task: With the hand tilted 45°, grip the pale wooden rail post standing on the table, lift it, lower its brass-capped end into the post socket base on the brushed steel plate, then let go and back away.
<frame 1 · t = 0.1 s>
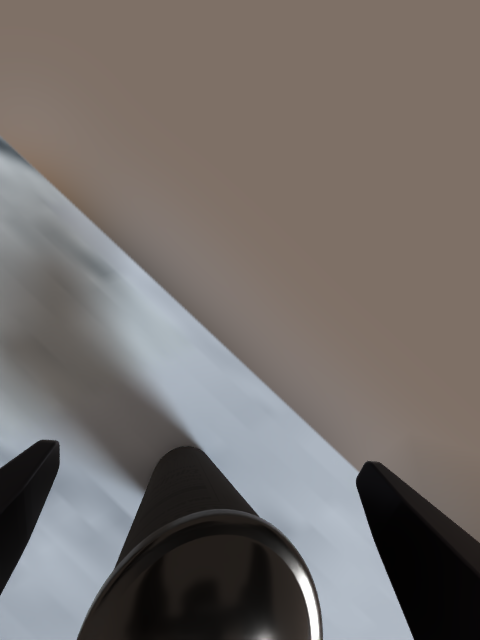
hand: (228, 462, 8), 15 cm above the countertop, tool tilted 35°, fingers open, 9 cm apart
drinking cup: (183, 478, 21), on the countertop
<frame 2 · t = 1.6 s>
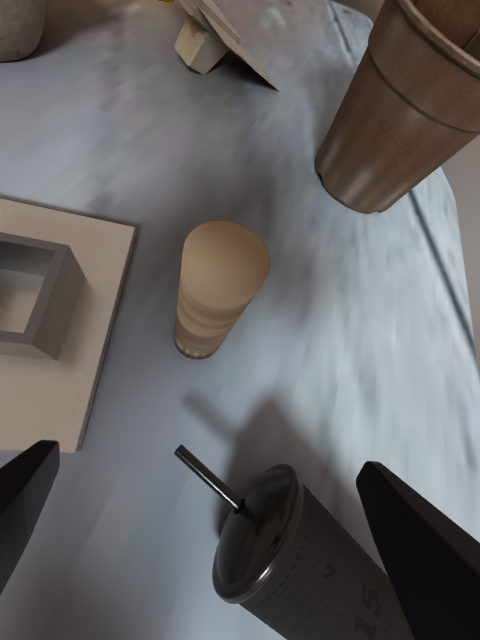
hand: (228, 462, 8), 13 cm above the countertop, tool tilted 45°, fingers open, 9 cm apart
post socket base: (27, 314, 20), on the countertop
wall: (213, 67, 38), on the countertop
plant pot: (353, 181, 37), on the countertop
rail post: (197, 336, 23), on the countertop
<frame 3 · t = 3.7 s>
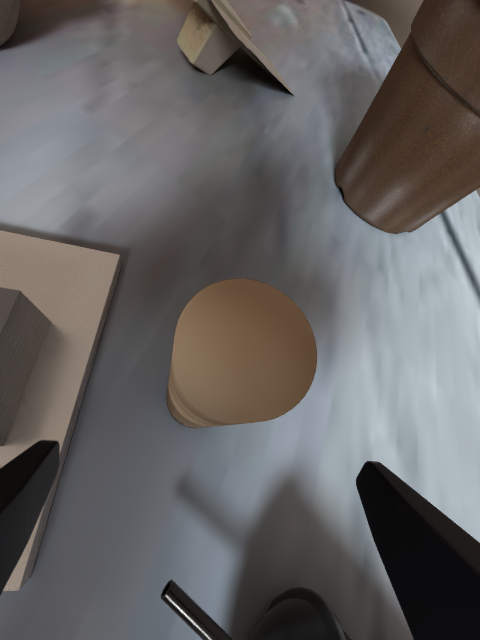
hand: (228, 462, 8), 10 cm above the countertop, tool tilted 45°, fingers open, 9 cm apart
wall: (221, 67, 34), on the countertop
plant pot: (377, 196, 32), on the countertop
rail post: (197, 395, 18), on the countertop
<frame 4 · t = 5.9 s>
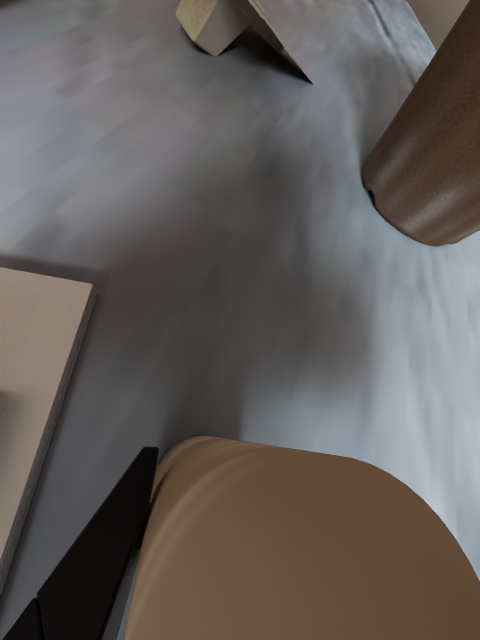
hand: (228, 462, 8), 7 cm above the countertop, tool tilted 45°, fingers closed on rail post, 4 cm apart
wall: (228, 49, 29), on the countertop
plant pot: (411, 200, 27), on the countertop
rail post: (196, 479, 13), on the countertop, touching gripper
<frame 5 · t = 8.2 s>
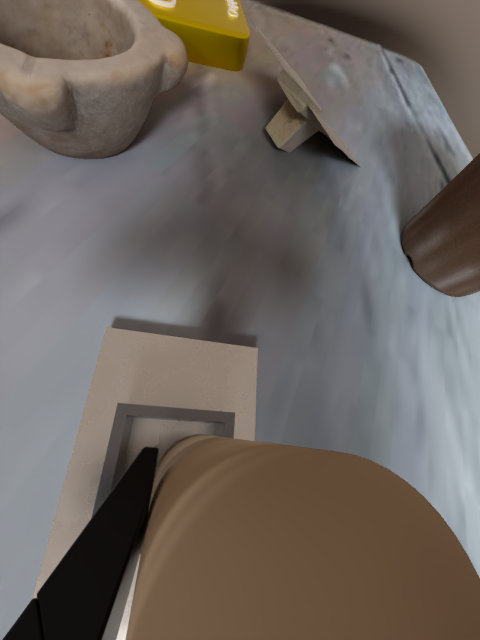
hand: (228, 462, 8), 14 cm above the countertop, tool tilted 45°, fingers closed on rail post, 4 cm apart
element tile: (188, 37, 40), on the countertop
post socket base: (168, 463, 19), on the countertop
mortar: (83, 127, 28), on the countertop
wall: (296, 142, 37), on the countertop
plant pot: (437, 259, 36), on the countertop
rail post: (196, 478, 13), point 7 cm above the countertop, touching gripper
when the fingers open (9 cm above the countertop, at t = 10.7 s): rail post stays where it is, resting on post socket base.
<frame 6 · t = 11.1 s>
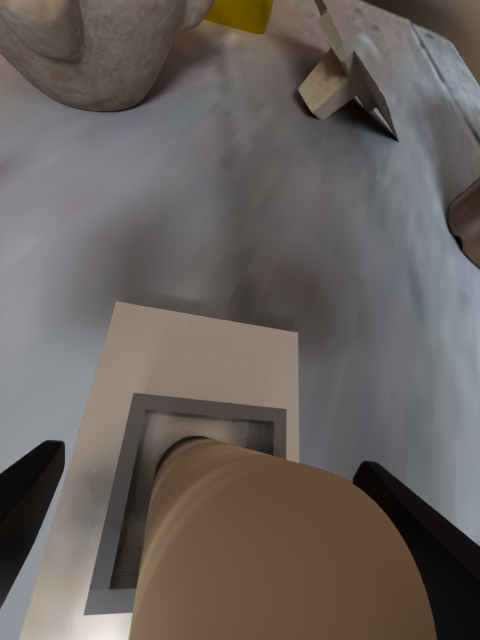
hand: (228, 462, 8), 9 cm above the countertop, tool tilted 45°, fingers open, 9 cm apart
post socket base: (191, 472, 15), on the countertop
mortar: (90, 78, 25), on the countertop
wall: (328, 111, 33), on the countertop
rail post: (193, 477, 14), point 1 cm above the countertop, touching post socket base
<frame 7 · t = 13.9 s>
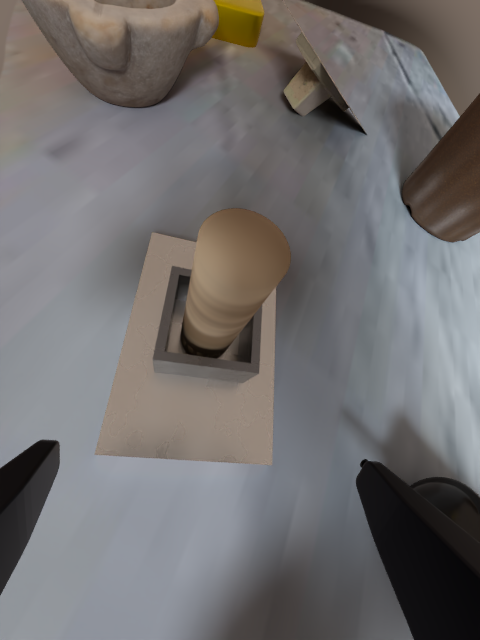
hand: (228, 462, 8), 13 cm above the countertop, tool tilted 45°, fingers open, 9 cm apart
element tile: (207, 17, 44), on the countertop
post socket base: (203, 340, 23), on the countertop
mortar: (123, 83, 33), on the countertop
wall: (310, 109, 42), on the countertop
plant pot: (434, 211, 40), on the countertop
rail post: (205, 336, 22), point 1 cm above the countertop, touching post socket base
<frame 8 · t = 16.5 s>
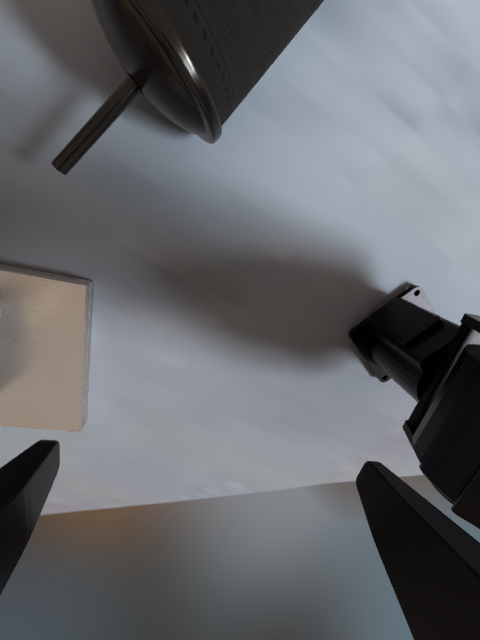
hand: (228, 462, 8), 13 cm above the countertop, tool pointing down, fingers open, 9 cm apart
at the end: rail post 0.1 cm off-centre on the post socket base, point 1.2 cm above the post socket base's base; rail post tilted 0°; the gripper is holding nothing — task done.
